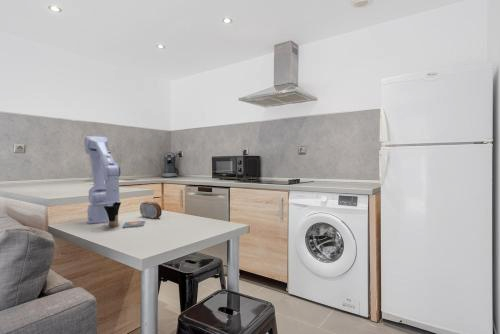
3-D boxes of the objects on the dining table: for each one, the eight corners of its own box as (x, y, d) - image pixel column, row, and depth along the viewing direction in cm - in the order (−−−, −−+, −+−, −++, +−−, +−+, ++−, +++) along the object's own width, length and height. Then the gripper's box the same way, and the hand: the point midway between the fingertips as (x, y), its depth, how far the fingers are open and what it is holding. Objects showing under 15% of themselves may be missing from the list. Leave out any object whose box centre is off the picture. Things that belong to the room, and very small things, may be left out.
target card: (122, 228, 128) (122, 226, 128) (125, 223, 138) (125, 221, 138) (143, 226, 131) (143, 224, 131) (144, 221, 141) (144, 220, 140)
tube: (108, 228, 129) (107, 217, 129) (109, 226, 133) (109, 215, 133) (117, 227, 130) (117, 216, 130) (118, 225, 134) (118, 215, 134)
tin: (162, 218, 148) (161, 202, 148) (157, 219, 145) (157, 203, 145) (143, 216, 156) (143, 200, 156) (139, 217, 153) (138, 201, 153)
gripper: (105, 189, 137) (107, 217, 137) (99, 192, 123) (100, 223, 123) (121, 188, 139) (122, 216, 139) (117, 191, 125) (118, 221, 126)
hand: (113, 219), depth 132 cm, fingers open, 7 cm apart
